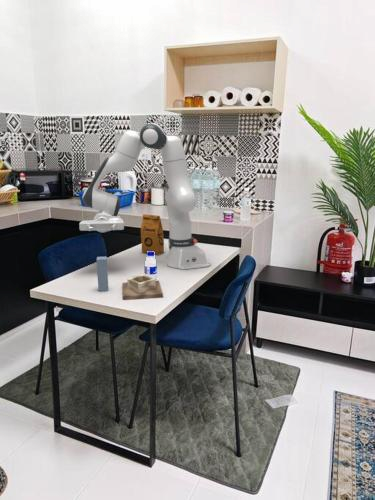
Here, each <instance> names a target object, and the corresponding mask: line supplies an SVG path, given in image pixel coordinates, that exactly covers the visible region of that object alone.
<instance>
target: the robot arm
mask: <svg viewBox="0 0 375 500" xmlns="http://www.w3.org/2000/svg"><path fill="white" fill-rule="evenodd" d="M144 148H147V149H151V150H152V149H153V150H158V151H160V154H161V160H162V164H163V171H164V176H165V180H166V182H167V186H168V188H169V189H167V191H166V193H165V196H164V198H165V202H166V209H167V215H168V216H167V217H168V224H169V236H168V243H167V244H168V249H169V250H168V256H167V257H168V258H167V262H166V266H168V267H170V268H174V269H179V270H182V271H183V270H193V269H199V268H200V269H201V268H207V267H208V268H209V267H210V266H211V261H210V260H209V259H208V258H207V255H206V253H205V251H204V250H203V249H202V248H201V247H199V245H197V243H198V240H197V239H196V238H194V237H193V236H192V220H191V217H190V212H192V211H193V210H195V208H196V206H197V203H198V201H197V198H196V197H197V196H196V195H195V193H194V189H193V186H192V183H191V180H190V175H189V172H188V165H187V160H186V153H185V150H184V144H183V142H182V139H181V138H180V137H179V136H176V135H167V134H166V133H165V130H164V128H163V127H162V126H161V125H159V124H157V123H151V122H150V123H148V124H146V125H143V126H142V128H141V129H140V130H139V131H136V130H131V129H130V130H126V131H125V132H123V134H122V135H121V138H120V139H119V141H118V144H117V146H116V148H115V151H114V153H113V154H112V155H111V156H110V157H105V159H104V160H103V162H102V163H101V165H100V166H99V167H98V169H97V172H96V173H95V174H94V176H93V178H92V180H91V182H90V183H89V185H88V187H86V188H85V190H84V191H83V194H82V199H81V201H82V202H83V204H84V206H85V207H87V208H91V209H96V210H98V211H97V212H96V213H95V214H94V217H93V219H91V220H82V221H80V222H79V224H78V225H79V227H78V228H79V231H80V232H83V231H85V232H86V231H88V232H91V231H92V232H93V231H97V232H99V233H107V232H110V231H122V230H125V221H124V219H123V218H121V215H119V212H120V209H121V200H120V197H119V196H118V195H116V194H113V193H111V192H110V193H109V192H107V191H104V190H102V189H99V186H100V184H101V183H102V181H103V180H104V177H105V176H106V175H107V174H109V173H126V172H129V171H132V170H133V169H134V168H135V166H136V164H137V163H138V159H139V157H140V155H141V151H142V150H143V149H144Z"/></svg>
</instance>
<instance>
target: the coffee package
mask: <svg viewBox="0 0 375 500" xmlns="http://www.w3.org/2000/svg"><path fill="white" fill-rule="evenodd" d="M140 239H141V241H140V242H141V253H145V254H148V253H147V251H154V252H155V254H154V256H155V255H156V256H159V255H162V254H164V253H165V249H164V248H165V245H164V244H165V239H164V229H163V225H162V220H161V216H160V215H158V214H157V215H154V214H145V213H143V215H142V222H141V226H140Z"/></svg>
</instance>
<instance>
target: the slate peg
mask: <svg viewBox="0 0 375 500" xmlns="http://www.w3.org/2000/svg"><path fill="white" fill-rule="evenodd" d="M96 269H97V270H96V274H97V288H98V292H108V291H109V276H108V275H109V273H108V257H107V256H97V257H96Z"/></svg>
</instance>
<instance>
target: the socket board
mask: <svg viewBox="0 0 375 500" xmlns="http://www.w3.org/2000/svg"><path fill="white" fill-rule="evenodd" d="M126 281H127V282H122V285H121V287H122V301H125V300H126V301H127V300H141V299H158V298H164V293H163V289H162V286H161V284H160V280H157V279H156V278H154V277H152V276H149V275H145V274H141V275H137V276H133V277H130V278H127V279H126Z"/></svg>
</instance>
